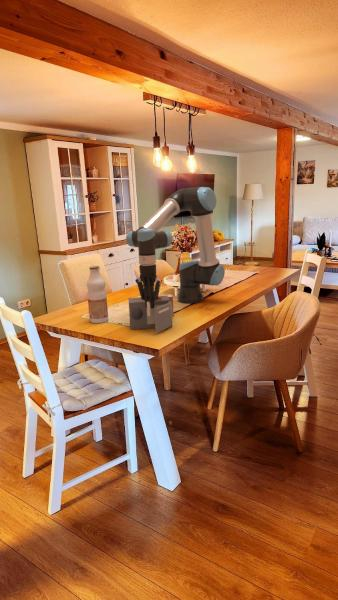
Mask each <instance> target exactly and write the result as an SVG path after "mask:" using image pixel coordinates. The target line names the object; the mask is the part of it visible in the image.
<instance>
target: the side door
mask: <svg viewBox="0 0 338 600" xmlns="http://www.w3.org/2000/svg"><path fill="white" fill-rule="evenodd" d="M154 313H155V328H154V329H155V330H154V331H155V333H156V334H158V333H160V332H162V331H164V330H166V329H167V328H172V327H173V316H172V304H171V301H169V302H168V303H167V304H164V305H162V306H160V307H157V308H155V309H154Z"/></svg>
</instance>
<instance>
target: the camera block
mask: <svg viewBox="0 0 338 600" xmlns="http://www.w3.org/2000/svg"><path fill="white" fill-rule="evenodd" d="M149 301H150V300H149ZM169 301H170V300H169V298H168V296H158V300H156V301H154V308H153V315H151V316H148V315H147V308H146V305H145V301H144V300H142V299H141V296H140V297H128V313H129V314H128V315H129V326H130V330H132V331H133V330H142V329H155V313H154V309H155V308H157V307H160V306H162V305H164V304H167V303H168V302H169Z"/></svg>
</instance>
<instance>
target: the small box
mask: <svg viewBox="0 0 338 600" xmlns="http://www.w3.org/2000/svg"><path fill="white" fill-rule="evenodd" d="M158 296H168V298H169V300H170V301H171V304H172V317H174V316H175V315H174V296H173V294H160V295H158Z"/></svg>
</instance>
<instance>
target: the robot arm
mask: <svg viewBox="0 0 338 600" xmlns="http://www.w3.org/2000/svg"><path fill="white" fill-rule="evenodd" d="M216 206H217V196H216V194H215V191H214V190H213V189H212V188H210V187H205V186H197V187H185V188H181V189H179V190H175V192H174V193H172V194H170V195H169V196H168V197H167V198H166V199H165V200H164V202H163V204H162V206H160V207H159V208H158V209H157V210H156V211H155V212H154V213H153V214H152V215H151V216H150V217H148V219H147V220H145V222H144V223H142V225H140V226H139V227H138V228H137V229H136V230H131V231H128V232H127V233H126V237H125V240H126V244H127V245H128V246H129V247H130V248H131V247H133V248H138V264H139V267H138V268H139V273H140V274H139V277H138V278H136V279H135V283H136V284H137V288H138V291H139V292H138V293H139V296H140V297H141V299H142V300H144V301H145V305H146V308H147V315H148V316H151V315H153V308H154V301H156V300H158V295H159V293H160V289H161V284H162V283H163V280H162V279H160V278H158V276H157V265H156V263H157V257H156V250H158V249H163V248H164V249H165V248H168V247H169V246H171V245H172V243H173V236H172V233H170V232H169V231H167V230H161V229H162V228H163V227H164V226H165V225H166V223H168V222H169V221H170V219H172V218H173V217H174V216H176V215H178V214H180V213H181V212H186V211H187V212H190V216H191V217H192V218H194V224H195V232H196V238H197V239H196V240H197V244H198V251H199V258H200V259H199V260H197V259H196V260H188V261H184V262H181V263H180V264H179V270H178V271H179V286H180V287H179V291H178V294H177V301H178V302H179V303H182V304H197V303H200V302H201V303H202V302H203V301H204V294H203V292H202V289H201V285H206V286H213V287H214V286H220V285H221V284H222V282H223V281H224V278H225V273H226V271H225V267H224V265H222V264H220V259H218V258H217V255H216V246H215V239H214V231H213V224H212V215H213V213H214V210H215V209H216ZM160 230H161V231H160ZM149 300H150V301H149Z"/></svg>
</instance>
